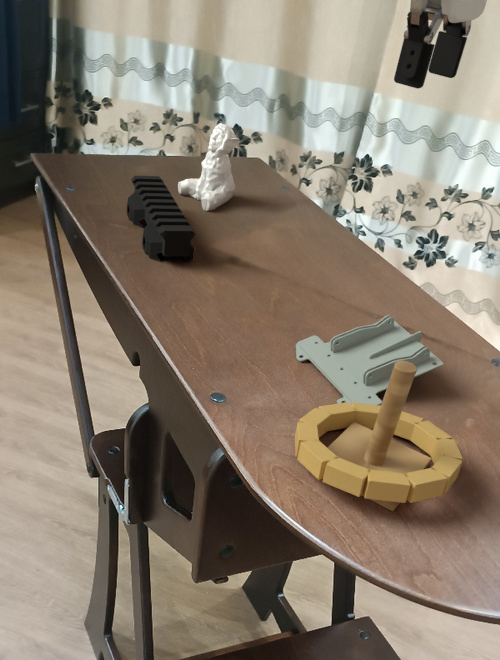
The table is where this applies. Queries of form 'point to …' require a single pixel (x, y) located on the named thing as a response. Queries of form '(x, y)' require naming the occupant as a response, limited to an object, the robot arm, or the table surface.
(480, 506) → the table surface
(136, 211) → the rail mount
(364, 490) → the ring
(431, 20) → the robot arm
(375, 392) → the metal bracket
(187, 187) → the seated beast figurine
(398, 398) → the peg
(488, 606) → the table surface
